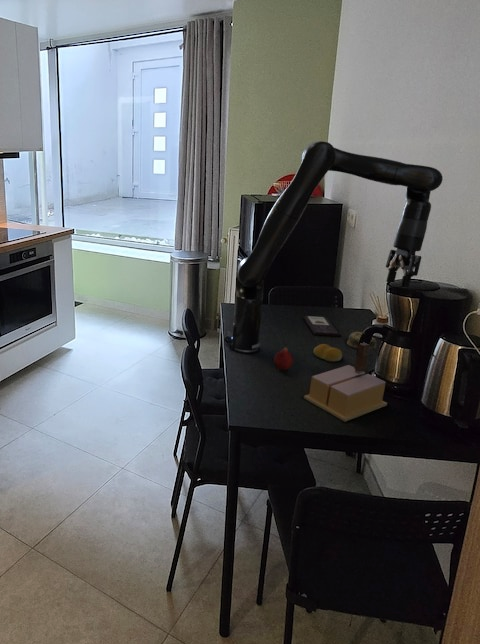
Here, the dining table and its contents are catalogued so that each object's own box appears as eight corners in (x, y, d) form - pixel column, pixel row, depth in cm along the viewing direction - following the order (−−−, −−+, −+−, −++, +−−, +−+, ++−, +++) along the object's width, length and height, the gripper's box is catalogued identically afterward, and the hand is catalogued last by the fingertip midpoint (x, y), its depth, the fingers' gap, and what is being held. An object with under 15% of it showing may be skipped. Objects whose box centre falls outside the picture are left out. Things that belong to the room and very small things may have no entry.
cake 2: (362, 353, 172) (364, 340, 170) (340, 343, 181) (341, 330, 179) (383, 347, 176) (384, 333, 174) (360, 337, 184) (361, 324, 183)
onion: (282, 376, 154) (285, 353, 152) (269, 368, 159) (271, 346, 157) (295, 372, 157) (298, 349, 154) (282, 365, 162) (285, 343, 159)
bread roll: (335, 364, 162) (336, 353, 161) (310, 355, 169) (311, 345, 168) (346, 357, 167) (348, 347, 166) (321, 349, 174) (323, 339, 173)
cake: (344, 421, 129) (349, 397, 127) (303, 398, 141) (306, 375, 139) (387, 405, 138) (391, 382, 135) (344, 384, 149) (348, 362, 147)
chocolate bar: (315, 332, 186) (304, 316, 203) (314, 334, 187) (304, 318, 204) (339, 333, 185) (326, 317, 202) (339, 336, 186) (326, 319, 203)
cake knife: (354, 398, 140) (363, 346, 135) (349, 395, 141) (357, 343, 136) (361, 395, 141) (370, 344, 136) (356, 393, 143) (364, 341, 138)
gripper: (386, 230, 155) (374, 279, 159) (410, 234, 141) (396, 288, 145) (410, 233, 155) (396, 282, 159) (436, 238, 141) (421, 291, 145)
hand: (396, 285), depth 152 cm, fingers open, 8 cm apart
